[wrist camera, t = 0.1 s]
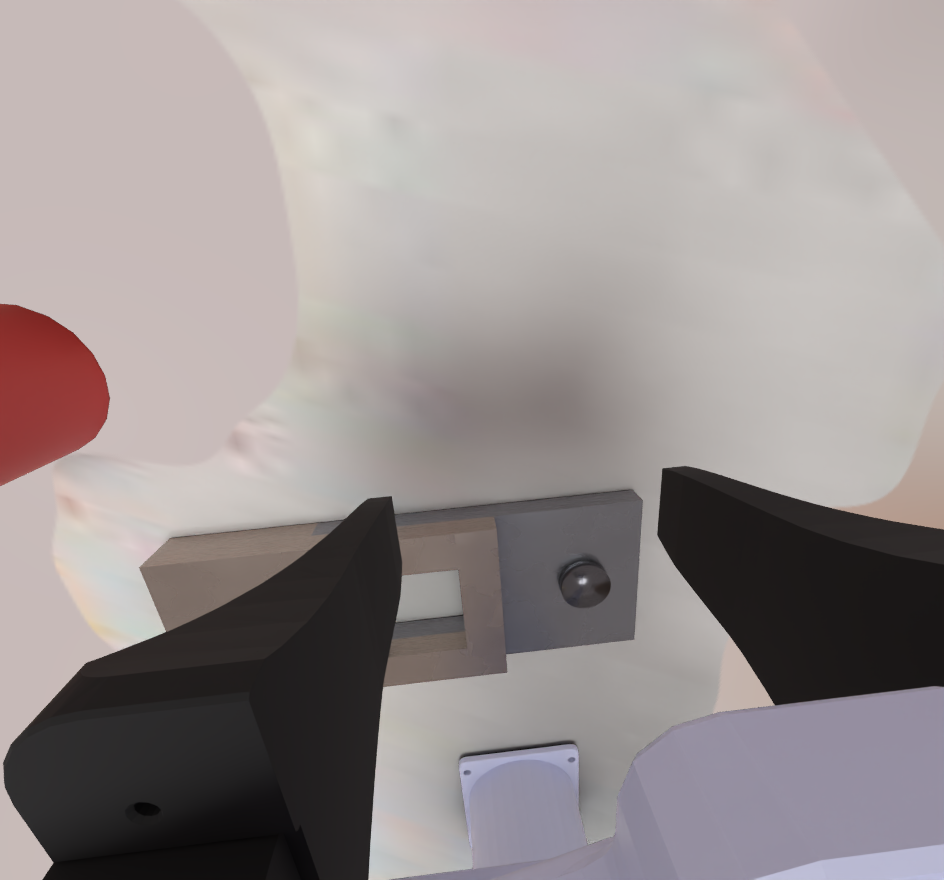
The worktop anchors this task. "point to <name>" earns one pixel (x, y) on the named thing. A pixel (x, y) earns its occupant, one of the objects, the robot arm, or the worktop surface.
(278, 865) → the robot arm
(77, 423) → the beer can
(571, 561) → the door strike plate
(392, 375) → the worktop surface
